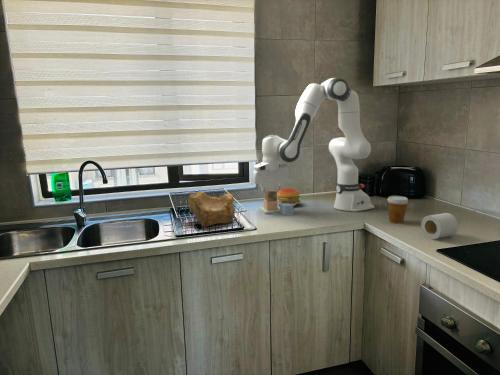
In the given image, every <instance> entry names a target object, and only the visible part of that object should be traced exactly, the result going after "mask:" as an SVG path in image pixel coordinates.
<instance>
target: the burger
mask: <svg viewBox="0 0 500 375" xmlns="http://www.w3.org/2000/svg"><path fill="white" fill-rule="evenodd" d="M300 197H301V196H300V192H299V191H298V190H297V189H295V188H292V187H284V188H281V189H280V190H278V191H277V201H278V206H280V204H281V203H290V204H292V205H293V207H296V206H298V205H299V204H300V203H301V200H300Z"/></svg>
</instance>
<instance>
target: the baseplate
mask: <svg viewBox="0 0 500 375" xmlns="http://www.w3.org/2000/svg"><path fill="white" fill-rule="evenodd" d="M258 210H260V211H261V212H262V213H263V214H264V215H267V214H274V213H275V214H276V213H280V207H278V210H270V211H267V210H266V209H264V206H260V207H258Z"/></svg>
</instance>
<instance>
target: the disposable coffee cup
mask: <svg viewBox="0 0 500 375" xmlns="http://www.w3.org/2000/svg"><path fill="white" fill-rule="evenodd" d="M386 201H387V204H388V205H387V206H388V216H389V217H388V220H389V223H392V224H403V223H404V220H405V214H406V210H407V205H408V203H409V199H408V197H406V196H401V195H391V196H388V198H387V199H386Z"/></svg>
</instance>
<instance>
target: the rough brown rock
mask: <svg viewBox="0 0 500 375" xmlns="http://www.w3.org/2000/svg"><path fill="white" fill-rule="evenodd" d="M187 201H188V203H187V205H188V208H189V212H190V213H192V214H193V215H194V218H195V219H196V221H198V222H199V223H200V225H201V227H203V228H205V227H209V226H213V225H215V224H230V222H232V220H233V219H234V217H235V205H234V195H233V194H231V193H224V194H223V195H221V196H219V197H218V196H217V197H216V196H209V195H208V194H206V192H203V191H198V192H196V193H191V194H190V195H188V198H187Z"/></svg>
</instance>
